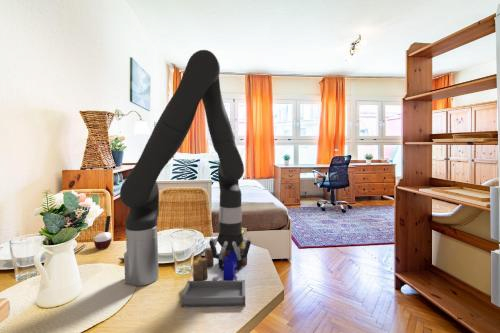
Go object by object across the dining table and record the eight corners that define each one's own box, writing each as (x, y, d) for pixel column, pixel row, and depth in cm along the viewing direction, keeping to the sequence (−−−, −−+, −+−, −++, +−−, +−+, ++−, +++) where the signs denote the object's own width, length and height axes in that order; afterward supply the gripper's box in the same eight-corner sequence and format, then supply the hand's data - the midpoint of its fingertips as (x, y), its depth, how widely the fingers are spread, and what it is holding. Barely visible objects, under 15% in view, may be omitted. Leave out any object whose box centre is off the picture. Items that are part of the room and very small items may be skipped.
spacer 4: (221, 265, 97) (221, 249, 97) (222, 261, 100) (222, 245, 100) (230, 265, 97) (230, 248, 97) (230, 261, 100) (230, 245, 100)
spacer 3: (204, 267, 96) (204, 250, 95) (205, 263, 98) (205, 247, 98) (213, 267, 96) (212, 250, 95) (213, 263, 99) (213, 247, 98)
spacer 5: (238, 265, 97) (238, 249, 96) (238, 262, 100) (238, 246, 99) (247, 265, 97) (247, 249, 96) (247, 262, 100) (247, 246, 99)
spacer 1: (192, 285, 84) (192, 266, 83) (194, 280, 86) (194, 262, 86) (202, 285, 84) (202, 266, 83) (203, 280, 87) (203, 262, 86)
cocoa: (98, 253, 108) (96, 224, 107) (88, 250, 111) (86, 221, 109) (119, 244, 117) (117, 217, 115) (109, 241, 120) (108, 215, 118)
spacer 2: (197, 280, 87) (197, 262, 86) (198, 275, 90) (198, 258, 89) (207, 280, 87) (206, 262, 86) (208, 275, 90) (207, 258, 89)
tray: (181, 307, 73) (181, 298, 72) (188, 289, 81) (187, 281, 81) (245, 306, 73) (245, 297, 73) (244, 288, 82) (244, 280, 82)
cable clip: (226, 263, 97) (226, 246, 96) (238, 264, 96) (239, 247, 96) (218, 279, 85) (218, 261, 84) (232, 281, 84) (233, 262, 84)
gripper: (206, 222, 85) (206, 275, 86) (252, 222, 85) (251, 275, 87) (209, 216, 92) (209, 264, 94) (251, 216, 93) (251, 264, 94)
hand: (229, 269), depth 90 cm, fingers closed on cable clip, 4 cm apart
